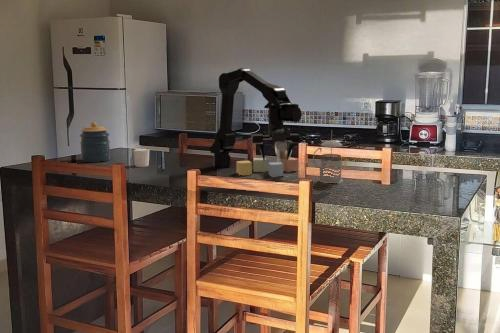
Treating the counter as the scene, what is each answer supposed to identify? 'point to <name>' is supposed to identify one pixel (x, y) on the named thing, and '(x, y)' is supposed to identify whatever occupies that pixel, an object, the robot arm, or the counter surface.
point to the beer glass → (281, 150)
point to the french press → (330, 162)
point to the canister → (94, 144)
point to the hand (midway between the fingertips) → (275, 160)
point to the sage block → (259, 165)
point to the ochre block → (244, 167)
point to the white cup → (141, 157)
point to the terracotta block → (290, 164)
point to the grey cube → (275, 169)
